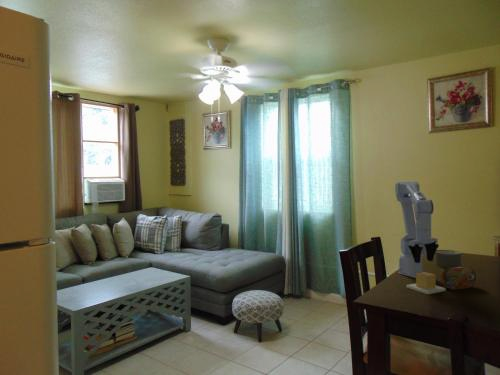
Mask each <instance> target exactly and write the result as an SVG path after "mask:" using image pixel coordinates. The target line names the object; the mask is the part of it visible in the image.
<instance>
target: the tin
mask: <svg viewBox="0 0 500 375" xmlns="http://www.w3.org/2000/svg"><path fill="white" fill-rule="evenodd" d="M476 281H477V274H476V272H475V270H474V269H473V268H472V267H470V266H465V265H463V266H461V267H454V268H444V270H443V272H442V273H441V283H442V285H443V287H444V288H446V289H450V290H452V291H455V290H456V289H457V290H463V289H464V290H465V289H470V288H472V287H473V286H474V285H475V283H476Z"/></svg>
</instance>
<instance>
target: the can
mask: <svg viewBox="0 0 500 375" xmlns="http://www.w3.org/2000/svg"><path fill="white" fill-rule="evenodd" d="M434 265H435V266H436V267H440V268H444V269H447V268H454V267H462V252H461V251H457V250H452V249H437V250H436V252H435V255H434Z"/></svg>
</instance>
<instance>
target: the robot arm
mask: <svg viewBox="0 0 500 375" xmlns="http://www.w3.org/2000/svg"><path fill="white" fill-rule="evenodd" d="M394 186H395V190H394V191H395V197H396V201H398V203H400V205H401V209H402V216H403V223H404V229H405V235H403V236H402V237H401V239H400V250H401V253H402V254H401V255H400V257H399V258H398V268H399V269H398V271H397V273H398V274H400V275H403V276H405V277H406V276H407V277H411V278H414V279H416V273H422V272H423V257H424V256H425V255H426V259H427V261H430V262H434V259H435V252H436V250H438V249H439V246H440V245H439V242H438V239H439V238H437V237H436V238H435V237H432V214H433V213H434V203H433V202H434V201H433V200H432V199H427V198H426V195H424V194H423V193H422V191H420V189H421V188H420V184H419V182H418V181H397V182H396V183H395V185H394Z"/></svg>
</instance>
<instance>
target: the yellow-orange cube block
mask: <svg viewBox="0 0 500 375" xmlns="http://www.w3.org/2000/svg"><path fill="white" fill-rule="evenodd" d="M436 276H437V275H436V274H435V273H431V272H426V271H422V273H416V278H415V283H416V286H418V287H421V288H425V289H430V288H435V287H436V286H437V285H436V284H437V283H436V281H437V280H436V279H437V277H436Z"/></svg>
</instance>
